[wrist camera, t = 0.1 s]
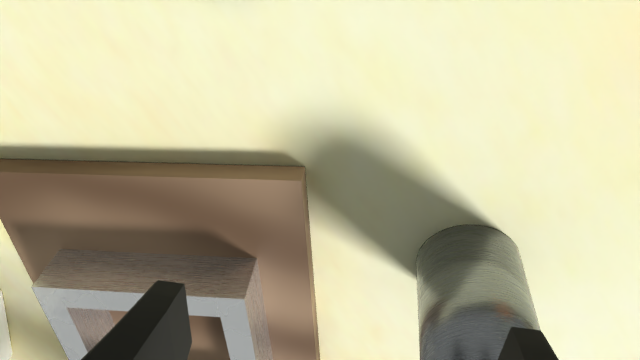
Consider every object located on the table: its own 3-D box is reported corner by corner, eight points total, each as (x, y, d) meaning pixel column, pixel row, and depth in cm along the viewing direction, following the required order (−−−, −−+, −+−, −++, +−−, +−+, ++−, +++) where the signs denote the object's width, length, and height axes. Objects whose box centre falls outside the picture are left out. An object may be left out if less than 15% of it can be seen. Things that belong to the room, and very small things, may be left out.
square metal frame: (276, 384, 29) (268, 426, 27) (114, 371, 30) (95, 410, 28) (256, 258, 24) (244, 299, 22) (60, 248, 25) (31, 286, 23)
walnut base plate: (324, 415, 32) (322, 431, 31) (105, 396, 34) (98, 411, 33) (304, 166, 22) (301, 180, 21) (-10, 158, 23) (-24, 171, 23)
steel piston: (511, 301, 25) (545, 449, 19) (413, 295, 25) (418, 438, 20) (528, 226, 22) (573, 373, 16) (419, 222, 23) (426, 363, 17)
